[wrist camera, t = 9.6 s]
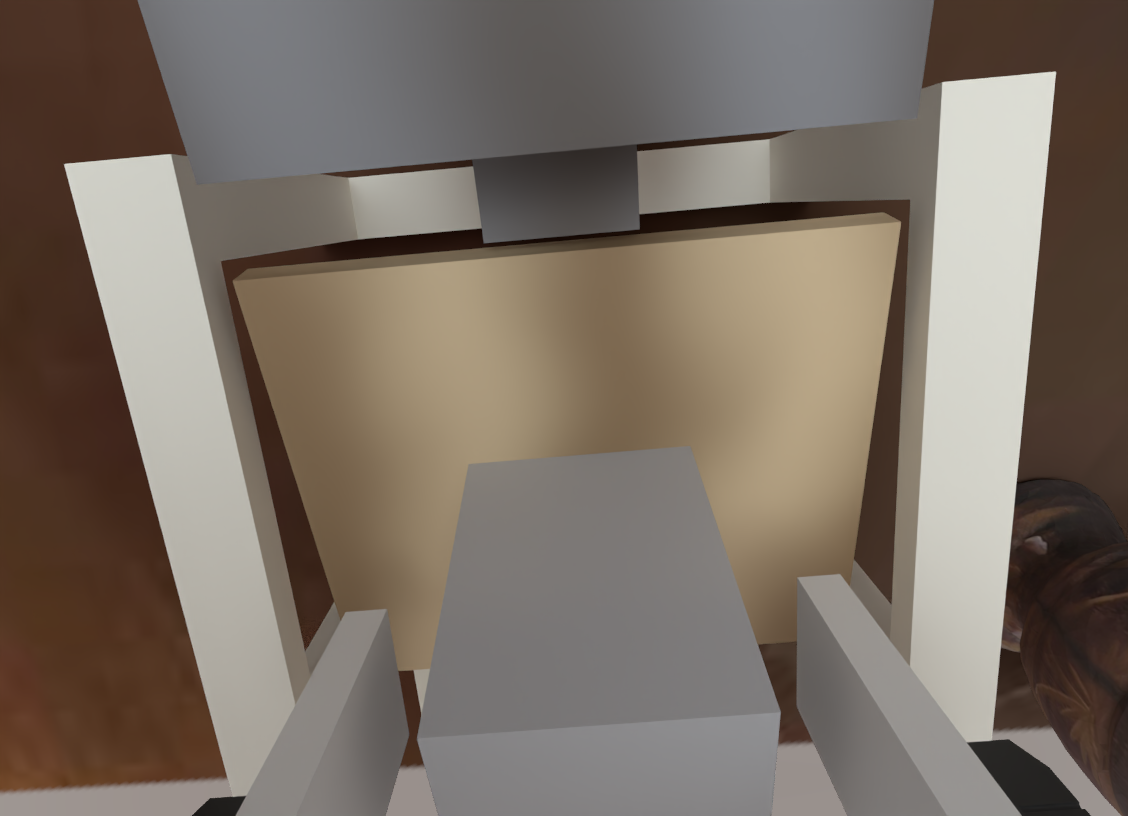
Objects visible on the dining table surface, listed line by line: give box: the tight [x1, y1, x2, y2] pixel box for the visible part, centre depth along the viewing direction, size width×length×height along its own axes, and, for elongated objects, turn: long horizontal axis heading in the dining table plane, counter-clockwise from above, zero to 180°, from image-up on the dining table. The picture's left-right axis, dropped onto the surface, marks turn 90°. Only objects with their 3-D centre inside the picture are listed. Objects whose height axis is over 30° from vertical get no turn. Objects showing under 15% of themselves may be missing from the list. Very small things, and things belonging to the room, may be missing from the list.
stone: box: [417, 446, 781, 816], centre depth 14 cm, size 5×5×7 cm
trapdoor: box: [138, 0, 934, 671], centre depth 13 cm, size 13×18×4 cm
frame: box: [64, 72, 1056, 797], centre depth 21 cm, size 18×16×13 cm
